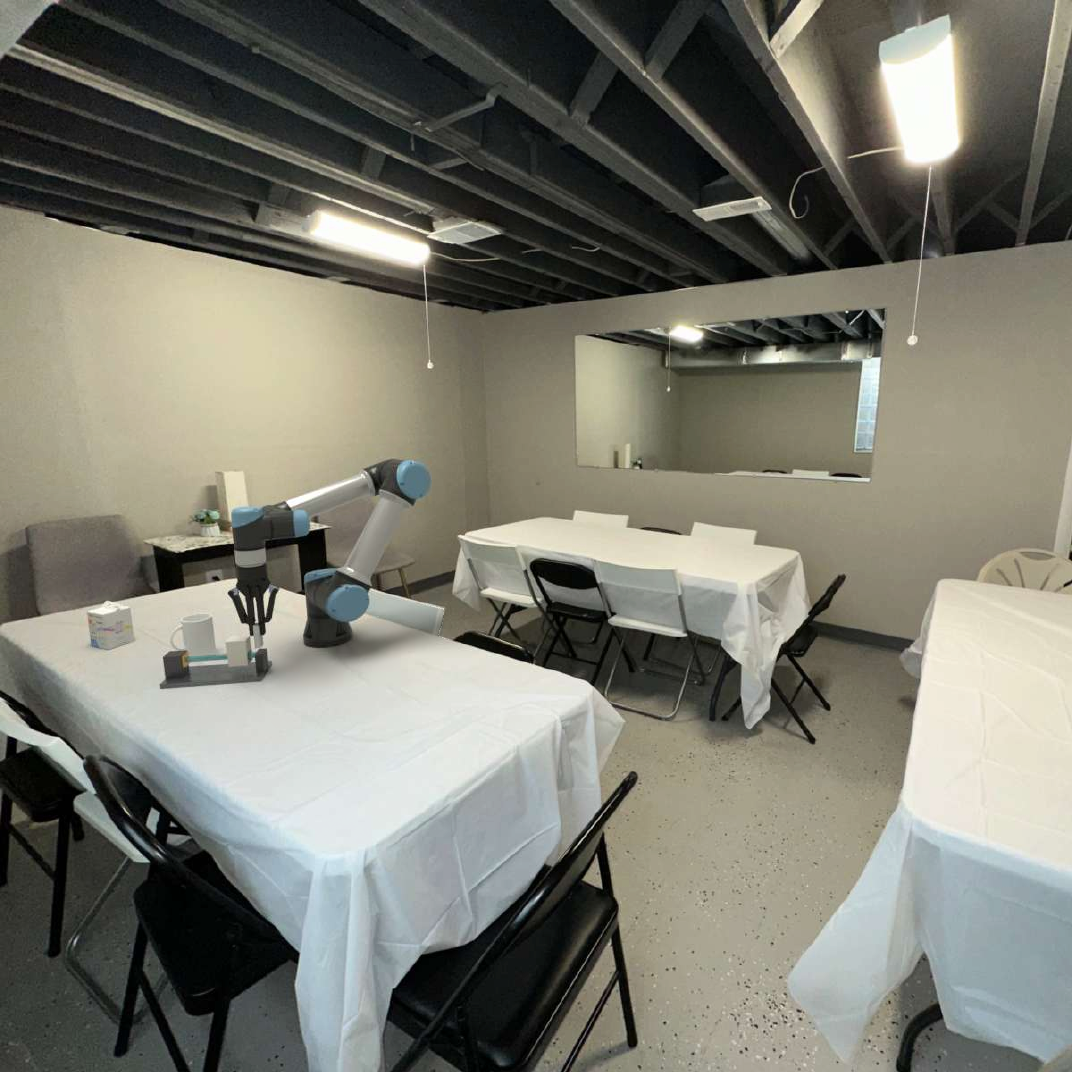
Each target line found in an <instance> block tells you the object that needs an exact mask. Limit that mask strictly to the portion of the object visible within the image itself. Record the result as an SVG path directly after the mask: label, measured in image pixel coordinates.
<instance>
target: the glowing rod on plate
mask: <svg viewBox="0 0 1072 1072" xmlns="http://www.w3.org/2000/svg"><path fill="white" fill-rule="evenodd" d="M248 658H253V659H254V661H251V662H250V663H249V665H247V666H233V667H228V663H222V664H218V663H217V664H209V665H207V664H205V665H194V666H193V665H192V666H190V665H189V664H190V663H195V662H199V663H200V662H212V661H213V662H214V661H228V659H227V653H221V654H219V653H218V654H216V655H203V656H189V652H187V650H183V651H179V650H172V651H168V652H167V653H166V654H165V655H163V657H162V661H163V668H164V676H165V678H164V680H163V681H162V682H161V683H159V688H160V689H170V688H171V689H174V688H188V687H200V686H211V685H212V686H213V685H224V684H225V685H226V684H239V683H243V684H244V683H252V682H262V680H263V679H264V678H265V676H266V674H267V673H268V672H269V670H270V669H271V668H272V665H273V662H272V660H269V656H268V648H266V647H265V648H258V650H257V651H252V652H249V653H248Z"/></svg>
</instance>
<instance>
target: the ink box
mask: <svg viewBox="0 0 1072 1072" xmlns="http://www.w3.org/2000/svg"><path fill="white" fill-rule="evenodd" d="M86 615H87V621H88V623H87V624H88V630H89V637H90V644H91V647H94V648H97V649H102V650H107V651H109V650H112V649H114V648H115V649H116V648H118V647H122V646H125V645H127V644H130V643H133V642H135V640H136V639H135V632H134V626H133V619H132V618H133V617H132V612H131V607H130V606H126V605H122V604H121V603H118V602H114V601H109V600H106V601H105V602H104V603H103V604H102V606H100V607H98V608H94V609H91V610H87V611H86Z"/></svg>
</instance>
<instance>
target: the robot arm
mask: <svg viewBox="0 0 1072 1072" xmlns="http://www.w3.org/2000/svg"><path fill="white" fill-rule="evenodd" d="M431 483H432V481H431V476H430V472H429V470H428V468H427V467H426V466H425V465H424V464H423V463H421V462H419V461H415V460H413V459H400V458H399V459H398V458H388V459H385V460H383V461H380V462H378V463H377V462H376V463H375V464H372V465H369V466H367V467H365V468H361V469H360V470H359V471H358V474H356V475H352V476H349V477H347V478H344V479H342V480H338V481H335V482H332V483H330V484H327V485H324V486H322V487H319V488H316V489H312V490H311V491H308V492H306V493H302V494H300V495H297V496H294V497H292V498H290V499H286V500H284V501H281V502H278V503H275V504H266V505H262V506H256V505H254V506H251V505H250V506H239V507H235V508H233V509H232V510H231V513H230V516H231V517H230V518H231V523H230V525H231V530H232V531H231V532H232V540H233V541H232V542H233V547H234V548H233V549H234V550H233V551H234V562H235V565H237V566H236V567H235V570H236V571H235V573H236V580H237V581H236V583H235V586H234V587H233V588H231V589H230V590H228V591H227V595H228V596H229V597H230V598H231V600H232V603H233V605H234V607H235V610H236V613H237V615H238V618H239V621H240V624H243V625H244V624H246V625H248V628H249V629H248V630H249V635H250V637H253V642H254V649H262V647H263V646H264V637H263V636H265V635H266V633H267V629H266V628H267V627H266V623H270V622H271V620H272V619H273V615H274V609H275V604H276V599H277V594H278V592H279V591H280V586H275V585H272V584H271V581H270V580H269V573H268V565H267V563H266V562H267V553H266V542H267V541H273V540H282V539H289V538H290V539H292V538H293V539H294V538H299V537H305V536H307V535H309V533H310V530H311V521H310V519H311V518H314V517H316V516H319V515H321V514H324V513H327V512H329V511H332V510H334V509H336V508H337V509H338V508H340V507H342V506H344V505H347V504H350V503H353V502H355V501H357V500H360V499H363V498H366V497H369V498H374V497H376V496H379V497H380V498H379V500H378V501H377V504H376V505H375V508H374V509H373V512H372V513H371V515H370V516H369V519H368V521H367V523H366V524H365V526H364V527H363V530H362V532H361V533H360V536H359V537H358V539H357V541H356V543H355V545H354V546H353V548H352V551H351V552H350V554H349V556H348V558H347V560H346V562H345V564H344V565H343V566H342V567H339V568H336V567H335V568H324V569H322V568H321V569H317V570H312V571H309V572H306V573H305V575H304V577H303V578H304V579H303V581H304V582H303V585H304V595H305V605H306V615H307V617H306V622H305V626H304V631H303V635H302V641H303V644H304V645H305V646H308V647H313V648H327V647H332V646H333V647H334V646H338V645H339V646H340V645H341V644H345V643H346V642H348V641H350V640H351V639H353V628H352V625H351V624H350V623H351V622H354V621H356V620H358V619H360V618H361V617H362V616H363V615H364V614H365V613H366V612H367V610H368V608H369V605H370V596H369V592H370V591H371V588H372V587H373V584H372V580H371V578H372V576H373V574H374V572H375V570H376V567H377V566H378V564H379V562H380V560H381V558H382V556H383V554H384V553H385V550H386V548H387V547H388V544H389V543H390V541H391V539H392V537H393V535H394V533H395V531H396V529H397V528H398V526H399V524H400V521H401V519H402V518H403V516H404V515H405V512H406V511H409V510H410V509H413V508H414V505H415V503H416V502H417V500H419V499H422V498H423V497H424V496H426V495H427V493H428V492H429V491H430V488H431ZM267 591H268V593H269V597H268V602H267V606H266V607H267V608H266V610H265V601H264V598H265V597H264V595H265V594H266V593H267ZM240 593H241V595H243V596H244V600H245V605H246V608H245V607H244V603H243V601H242V600H243V599H242V598H241V596H240ZM254 599H255V601H254ZM255 603H256V604H255ZM255 605H256V613H255ZM256 614H257V619H256Z"/></svg>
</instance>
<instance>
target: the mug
mask: <svg viewBox="0 0 1072 1072" xmlns="http://www.w3.org/2000/svg"><path fill="white" fill-rule="evenodd" d="M180 623H181V624H180V625H179V626H177V627H176V628H175V629H173V631H172V633H171V634H170V638H169V640H170V642H169V643H170V645H171V647H173V649H174V650H175V651H183V650H187V652H189V656H203V655H218V654H217V653H218V650H217V647H216V646H217V645H216V638H215V629H214V628H215V627H214V620H213V615H212V614H211V613H208V612H207V613H206V612H204V613H203V612H202V613H201V612H200V613H195V614H189V615H187V616H184V617H182V618H181V619H180ZM179 630H181V631H182V637H183V639H182V641H183V647H178V646H177V645H175V644H174V640H173V638H174V636H175V635H176V633H177V632H178V631H179Z"/></svg>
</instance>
